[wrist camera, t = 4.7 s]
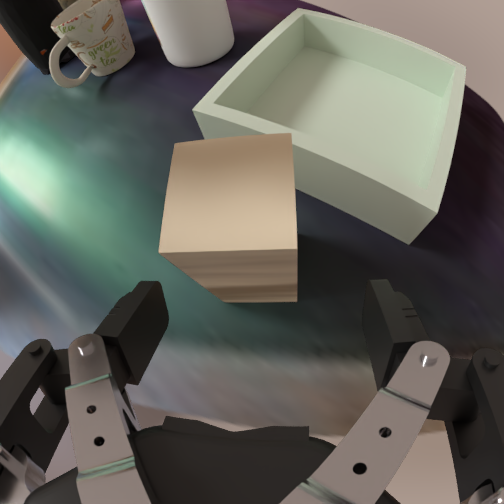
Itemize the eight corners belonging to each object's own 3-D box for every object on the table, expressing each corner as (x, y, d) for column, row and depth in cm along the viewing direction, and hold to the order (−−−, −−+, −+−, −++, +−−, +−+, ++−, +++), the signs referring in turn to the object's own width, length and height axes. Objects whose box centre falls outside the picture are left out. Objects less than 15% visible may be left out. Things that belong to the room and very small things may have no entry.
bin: (408, 244, 19) (437, 213, 14) (210, 152, 23) (192, 109, 18) (449, 104, 22) (466, 67, 17) (300, 46, 26) (298, 8, 22)
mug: (155, 39, 31) (128, -21, 22) (104, 106, 28) (58, 41, 18) (108, 46, 33) (79, -4, 23) (58, 110, 29) (15, 59, 20)
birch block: (297, 301, 19) (297, 248, 9) (224, 302, 19) (158, 252, 10) (295, 233, 20) (291, 132, 11) (227, 235, 21) (174, 143, 11)
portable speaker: (70, 67, 33) (9, -24, 15) (31, 83, 34) (-28, 8, 16) (93, 35, 36) (45, -48, 17) (54, 51, 37) (5, -20, 19)
